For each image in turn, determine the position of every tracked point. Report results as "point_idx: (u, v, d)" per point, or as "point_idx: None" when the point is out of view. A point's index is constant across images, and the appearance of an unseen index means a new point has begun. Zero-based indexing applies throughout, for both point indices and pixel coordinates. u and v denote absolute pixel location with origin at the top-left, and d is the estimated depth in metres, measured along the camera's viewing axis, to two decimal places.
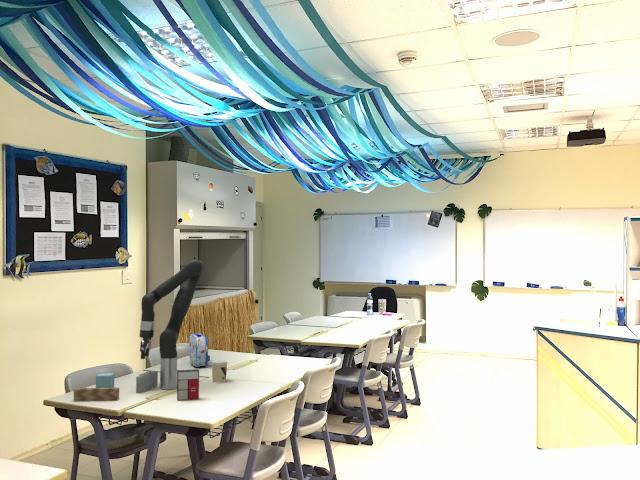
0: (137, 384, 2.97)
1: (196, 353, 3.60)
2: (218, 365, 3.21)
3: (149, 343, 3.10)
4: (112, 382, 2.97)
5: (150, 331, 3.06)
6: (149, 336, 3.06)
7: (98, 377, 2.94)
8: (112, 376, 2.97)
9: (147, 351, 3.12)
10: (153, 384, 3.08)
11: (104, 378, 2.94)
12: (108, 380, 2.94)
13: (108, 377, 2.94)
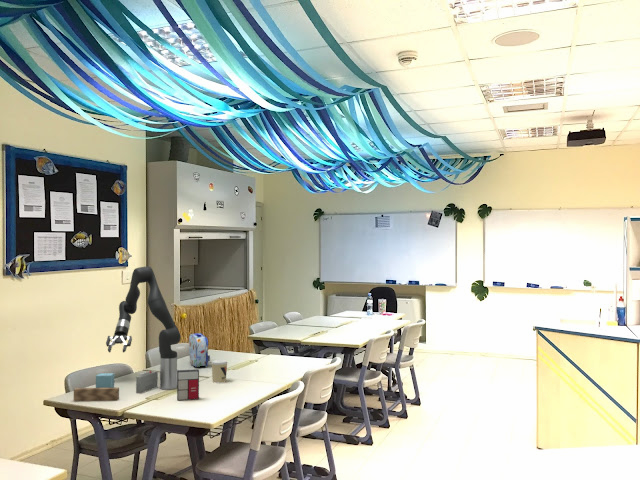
0: (137, 384, 2.97)
1: (196, 353, 3.60)
2: (218, 365, 3.21)
3: (121, 338, 3.22)
4: (112, 382, 2.97)
5: (116, 327, 3.27)
6: (115, 331, 3.25)
7: (98, 377, 2.94)
8: (112, 376, 2.97)
9: None
10: (153, 384, 3.08)
11: (104, 378, 2.94)
12: (108, 380, 2.94)
13: (108, 377, 2.94)
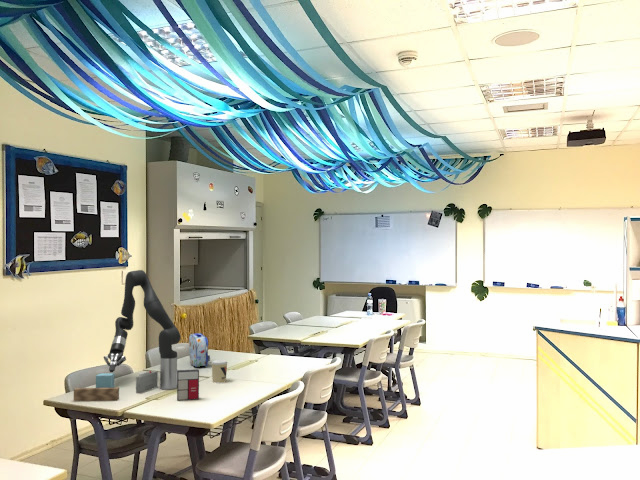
0: (137, 384, 2.97)
1: (196, 353, 3.60)
2: (218, 365, 3.21)
3: (115, 356, 3.13)
4: (112, 382, 2.97)
5: (112, 344, 3.18)
6: None
7: (98, 377, 2.94)
8: (112, 376, 2.97)
9: None
10: (153, 384, 3.08)
11: (104, 378, 2.94)
12: (108, 380, 2.94)
13: (108, 377, 2.94)
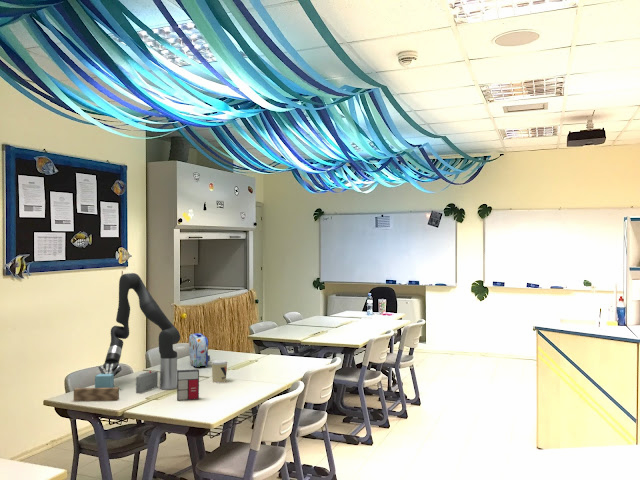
0: (137, 384, 2.97)
1: (196, 353, 3.60)
2: (218, 365, 3.21)
3: (110, 366, 3.05)
4: (111, 383, 2.96)
5: (107, 354, 3.09)
6: (106, 358, 3.07)
7: (97, 378, 2.93)
8: (111, 377, 2.96)
9: None
10: (153, 384, 3.08)
11: (103, 379, 2.93)
12: (107, 381, 2.93)
13: (107, 378, 2.93)
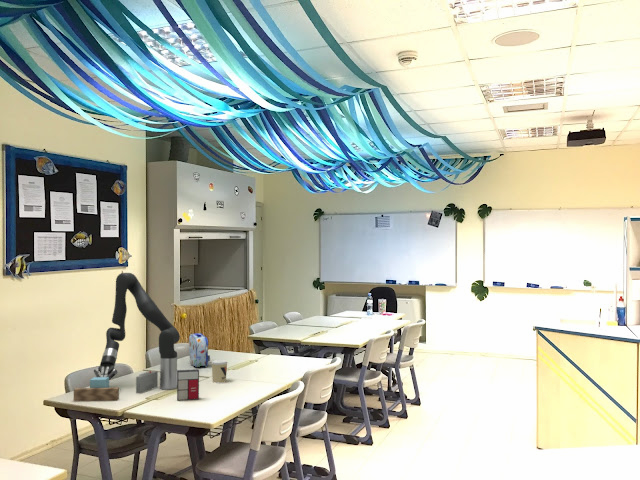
0: (137, 384, 2.97)
1: (196, 353, 3.60)
2: (218, 365, 3.21)
3: (106, 369, 2.97)
4: (107, 386, 2.88)
5: (103, 357, 3.01)
6: (101, 361, 2.99)
7: (92, 381, 2.85)
8: (107, 380, 2.87)
9: None
10: (153, 384, 3.08)
11: (98, 382, 2.85)
12: (102, 384, 2.85)
13: (102, 381, 2.85)
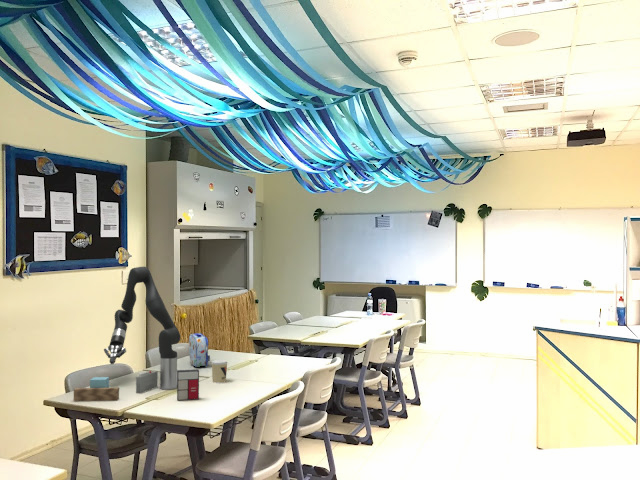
0: (137, 384, 2.97)
1: (196, 353, 3.60)
2: (218, 365, 3.21)
3: (115, 348, 3.14)
4: (107, 386, 2.88)
5: (112, 337, 3.18)
6: (110, 341, 3.17)
7: (92, 381, 2.85)
8: (107, 380, 2.88)
9: None
10: (153, 384, 3.08)
11: (98, 382, 2.85)
12: (102, 384, 2.85)
13: (102, 381, 2.85)
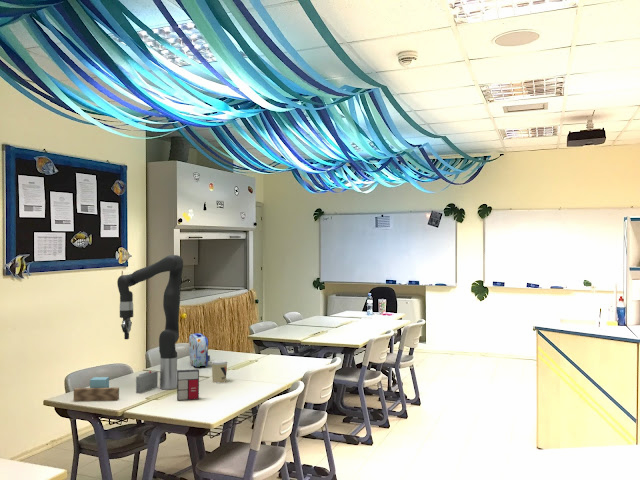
0: (137, 384, 2.97)
1: (196, 353, 3.60)
2: (218, 365, 3.21)
3: (129, 323, 3.17)
4: (107, 386, 2.88)
5: (129, 311, 3.14)
6: (129, 316, 3.14)
7: (92, 381, 2.85)
8: (107, 380, 2.88)
9: None
10: (153, 384, 3.08)
11: (98, 382, 2.85)
12: (102, 384, 2.85)
13: (102, 381, 2.85)
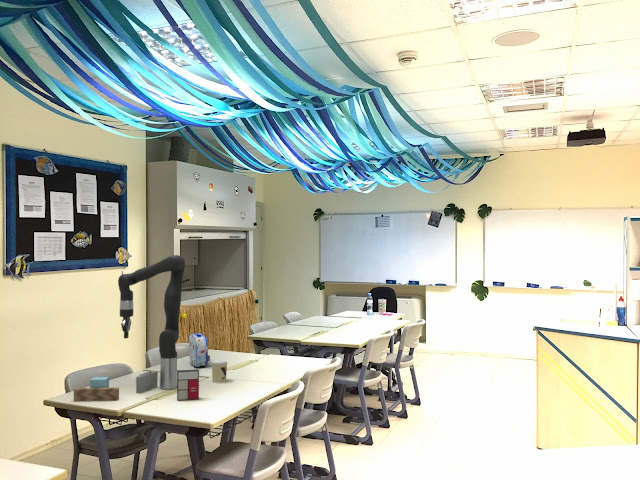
0: (137, 384, 2.97)
1: (196, 353, 3.60)
2: (218, 365, 3.21)
3: (129, 322, 3.17)
4: (107, 386, 2.88)
5: (129, 310, 3.14)
6: (129, 315, 3.13)
7: (92, 381, 2.85)
8: (107, 380, 2.88)
9: None
10: (153, 384, 3.08)
11: (98, 382, 2.85)
12: (102, 384, 2.85)
13: (102, 381, 2.85)
